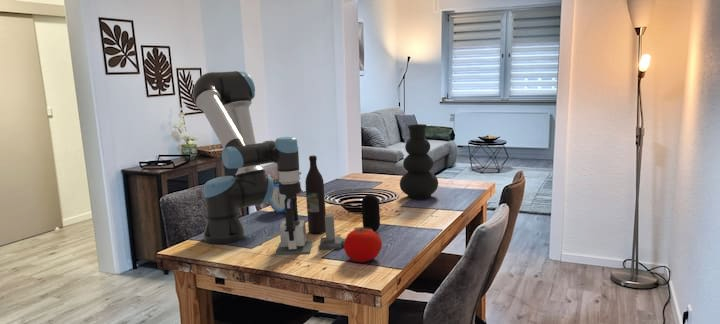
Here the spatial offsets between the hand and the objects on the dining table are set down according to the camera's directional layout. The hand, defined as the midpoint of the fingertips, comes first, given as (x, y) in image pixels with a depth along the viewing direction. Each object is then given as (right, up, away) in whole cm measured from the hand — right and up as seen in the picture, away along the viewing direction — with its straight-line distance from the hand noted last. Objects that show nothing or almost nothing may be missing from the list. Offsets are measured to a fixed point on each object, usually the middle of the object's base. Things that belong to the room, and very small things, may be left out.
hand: (294, 244), depth 180 cm
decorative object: (+28, +2, +14) cm, 31 cm away
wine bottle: (+7, +2, +19) cm, 20 cm away
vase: (+52, +12, +66) cm, 85 cm away
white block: (0, +1, 0) cm, 1 cm away
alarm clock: (-12, +6, +52) cm, 54 cm away
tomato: (+24, -3, -14) cm, 29 cm away
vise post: (+19, 0, +1) cm, 19 cm away
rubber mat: (0, -1, 0) cm, 1 cm away
